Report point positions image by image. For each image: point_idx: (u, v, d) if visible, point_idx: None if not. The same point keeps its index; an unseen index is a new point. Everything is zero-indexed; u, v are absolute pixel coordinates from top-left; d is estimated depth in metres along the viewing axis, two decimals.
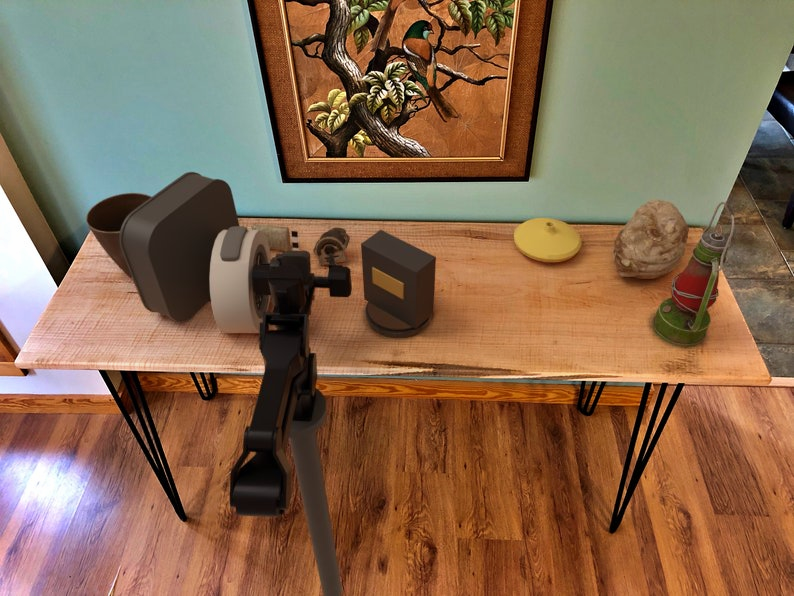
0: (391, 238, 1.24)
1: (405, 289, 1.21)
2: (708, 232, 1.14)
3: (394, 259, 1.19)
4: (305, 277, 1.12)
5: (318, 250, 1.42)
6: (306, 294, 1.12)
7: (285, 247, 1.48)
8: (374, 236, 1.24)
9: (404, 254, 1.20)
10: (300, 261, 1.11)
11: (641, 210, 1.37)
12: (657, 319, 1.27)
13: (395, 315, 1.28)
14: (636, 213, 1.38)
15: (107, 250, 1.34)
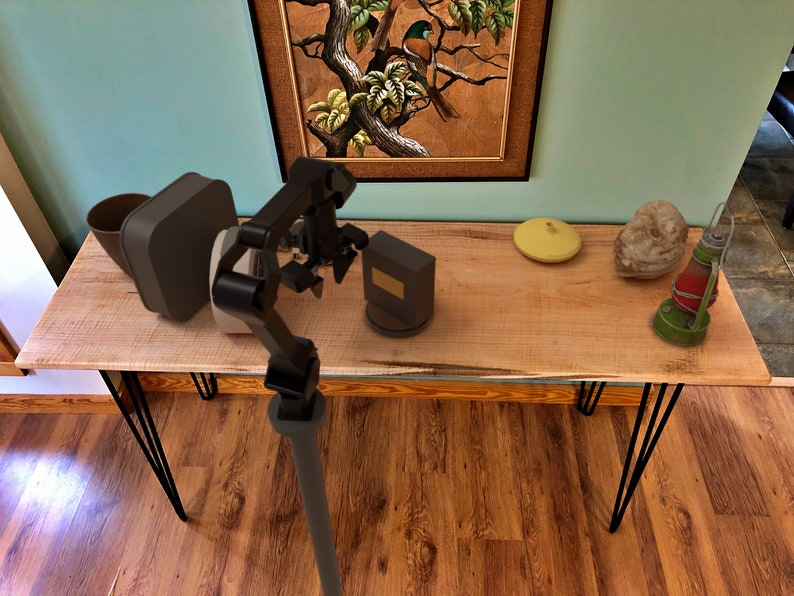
0: (391, 238, 1.24)
1: (405, 289, 1.21)
2: (708, 232, 1.14)
3: (394, 259, 1.19)
4: None
5: None
6: None
7: None
8: (374, 236, 1.24)
9: (404, 254, 1.20)
10: (298, 224, 1.15)
11: (641, 210, 1.37)
12: (657, 319, 1.27)
13: (395, 315, 1.28)
14: (636, 213, 1.38)
15: (107, 250, 1.34)
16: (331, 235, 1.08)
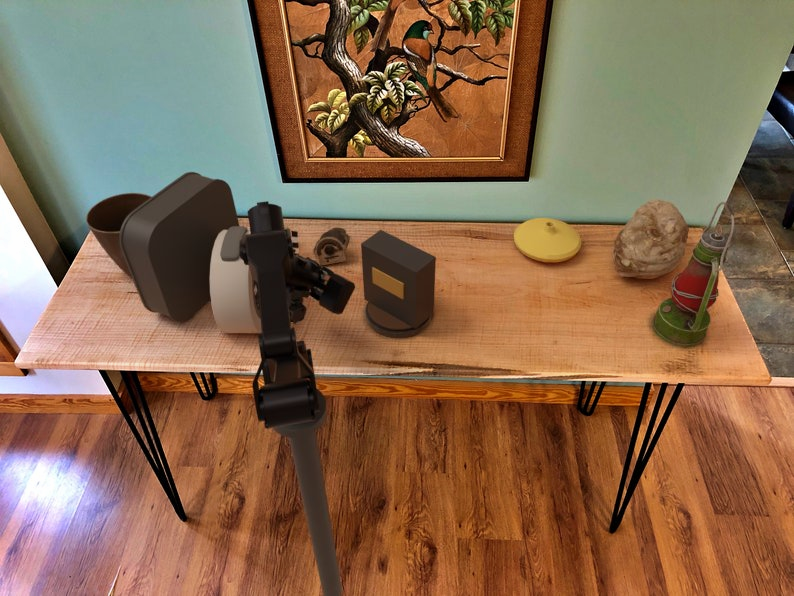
0: (391, 238, 1.24)
1: (405, 289, 1.21)
2: (708, 232, 1.14)
3: (394, 259, 1.19)
4: None
5: (318, 250, 1.42)
6: None
7: None
8: (374, 236, 1.24)
9: (404, 254, 1.20)
10: None
11: (641, 210, 1.37)
12: (657, 319, 1.27)
13: (395, 315, 1.28)
14: (636, 213, 1.38)
15: (107, 250, 1.34)
16: (294, 255, 1.06)
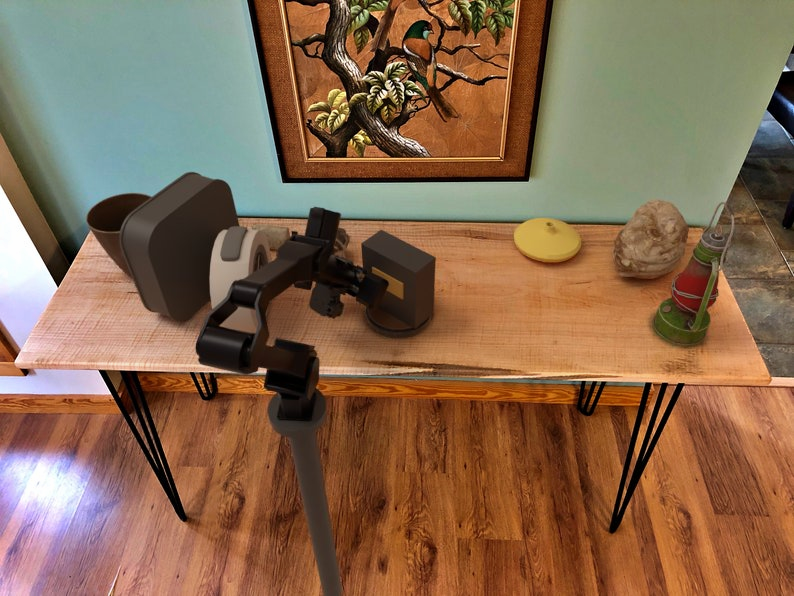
0: (391, 238, 1.24)
1: (405, 289, 1.21)
2: (708, 232, 1.14)
3: (394, 259, 1.19)
4: (314, 289, 1.19)
5: None
6: None
7: None
8: (374, 236, 1.24)
9: (404, 254, 1.20)
10: (313, 305, 1.20)
11: (641, 210, 1.37)
12: (657, 319, 1.27)
13: (395, 315, 1.28)
14: (636, 213, 1.38)
15: (107, 250, 1.34)
16: (333, 256, 1.15)
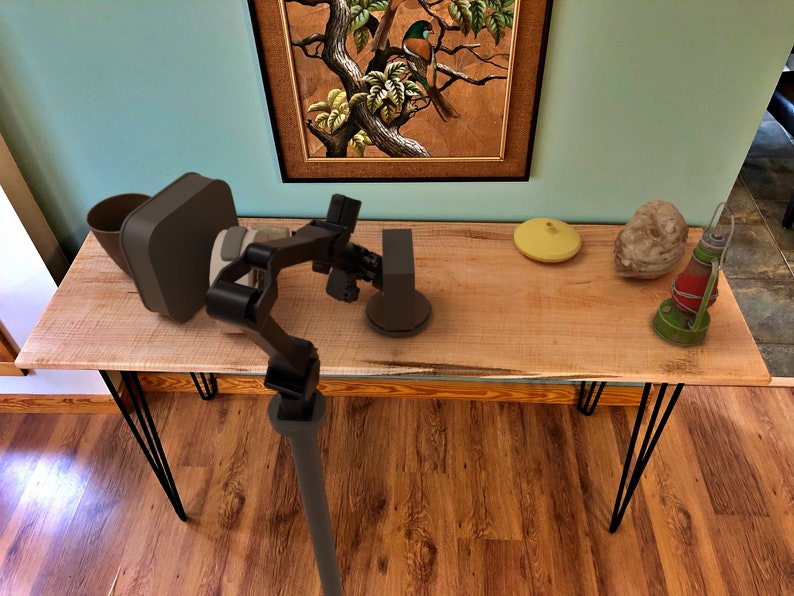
0: (407, 239, 1.23)
1: None
2: (708, 232, 1.14)
3: (384, 254, 1.20)
4: (331, 275, 1.22)
5: None
6: None
7: None
8: (399, 230, 1.26)
9: (397, 256, 1.20)
10: (330, 290, 1.22)
11: (641, 210, 1.37)
12: (657, 319, 1.27)
13: (384, 310, 1.29)
14: (636, 213, 1.38)
15: (107, 250, 1.34)
16: (350, 242, 1.18)
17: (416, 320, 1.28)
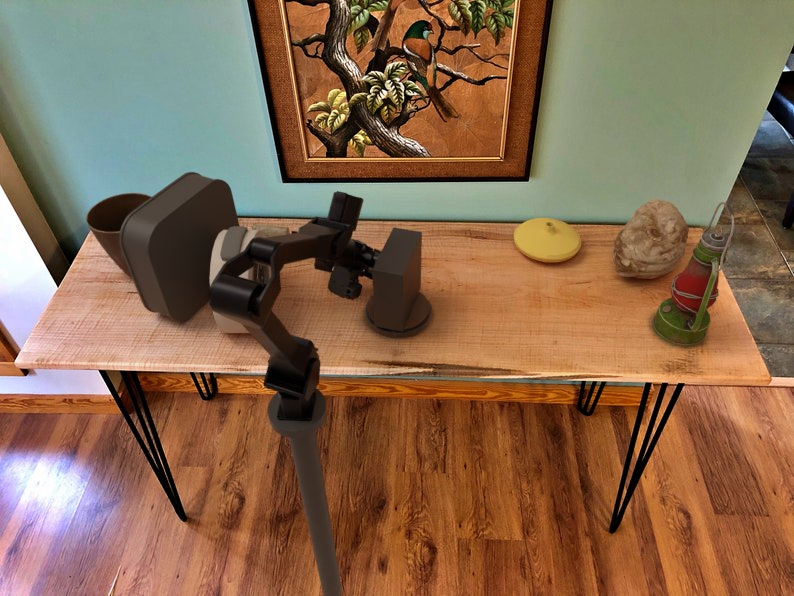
0: (412, 241, 1.23)
1: None
2: (708, 232, 1.14)
3: (383, 252, 1.21)
4: (333, 272, 1.22)
5: None
6: None
7: None
8: (409, 231, 1.25)
9: (394, 255, 1.20)
10: (332, 287, 1.23)
11: (641, 210, 1.37)
12: (657, 319, 1.27)
13: None
14: (636, 213, 1.38)
15: (107, 250, 1.34)
16: (352, 239, 1.19)
17: (409, 323, 1.27)
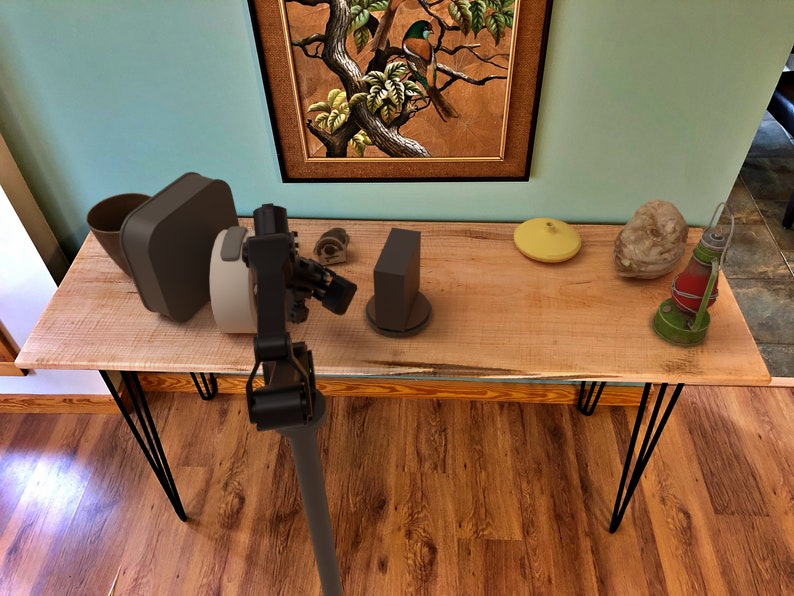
0: (412, 241, 1.23)
1: None
2: (708, 232, 1.14)
3: (383, 252, 1.20)
4: None
5: (318, 250, 1.42)
6: None
7: None
8: (408, 231, 1.25)
9: (394, 255, 1.20)
10: None
11: (641, 210, 1.37)
12: (657, 319, 1.27)
13: None
14: (636, 213, 1.38)
15: (107, 250, 1.34)
16: (297, 257, 1.07)
17: (410, 323, 1.27)
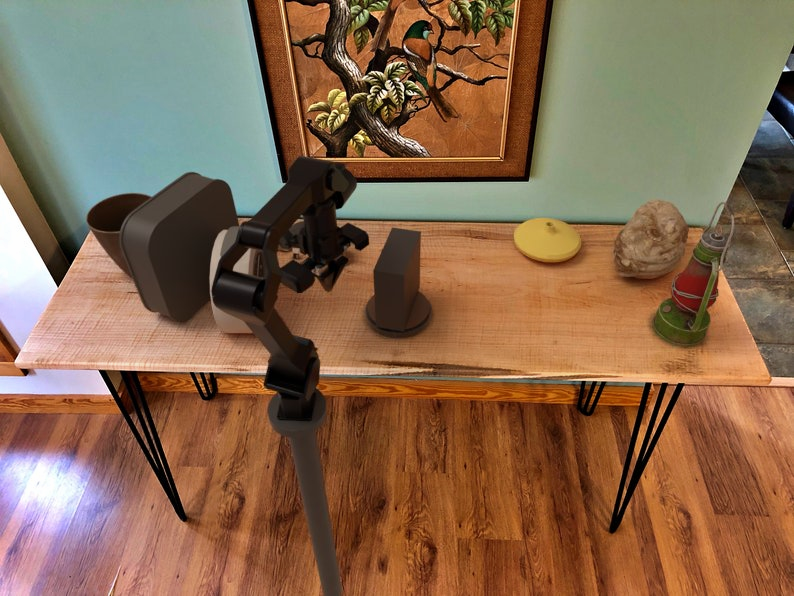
0: (412, 241, 1.23)
1: None
2: (708, 232, 1.14)
3: (383, 252, 1.20)
4: None
5: None
6: None
7: None
8: (408, 231, 1.25)
9: (394, 255, 1.20)
10: (298, 224, 1.15)
11: (641, 210, 1.37)
12: (657, 319, 1.27)
13: None
14: (636, 213, 1.38)
15: (107, 250, 1.34)
16: (331, 235, 1.08)
17: (410, 323, 1.27)
